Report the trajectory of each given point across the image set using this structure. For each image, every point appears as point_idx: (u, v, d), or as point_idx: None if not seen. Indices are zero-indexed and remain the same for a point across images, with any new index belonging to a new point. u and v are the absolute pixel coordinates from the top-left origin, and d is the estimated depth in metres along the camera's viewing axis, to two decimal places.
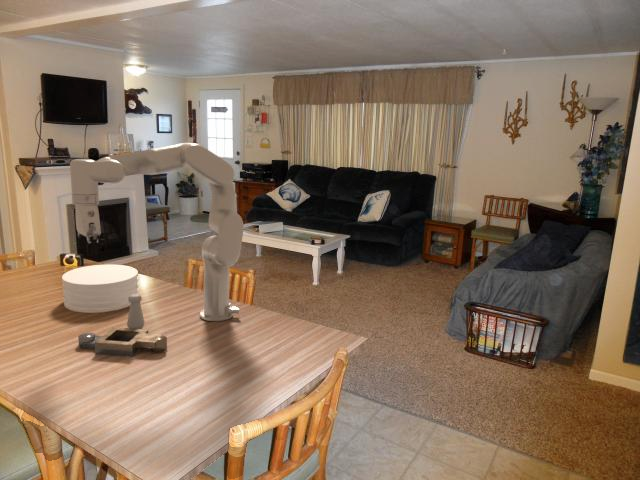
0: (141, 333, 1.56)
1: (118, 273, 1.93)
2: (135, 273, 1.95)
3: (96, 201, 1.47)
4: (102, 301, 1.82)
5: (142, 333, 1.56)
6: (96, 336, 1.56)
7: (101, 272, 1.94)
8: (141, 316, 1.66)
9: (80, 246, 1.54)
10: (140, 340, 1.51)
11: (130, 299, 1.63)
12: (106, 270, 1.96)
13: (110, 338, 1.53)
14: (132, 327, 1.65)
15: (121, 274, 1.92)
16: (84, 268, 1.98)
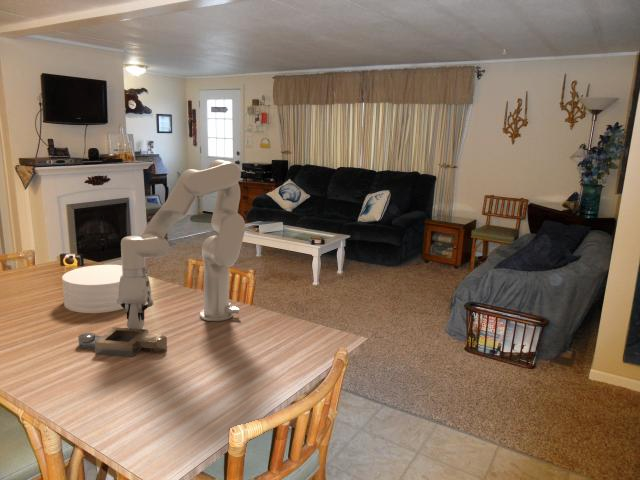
0: (141, 333, 1.56)
1: (118, 274, 1.93)
2: None
3: None
4: (102, 301, 1.82)
5: (142, 333, 1.56)
6: (96, 336, 1.56)
7: (101, 272, 1.93)
8: None
9: None
10: (140, 340, 1.51)
11: None
12: (106, 270, 1.96)
13: (110, 338, 1.53)
14: (132, 327, 1.65)
15: (121, 274, 1.92)
16: (84, 268, 1.98)
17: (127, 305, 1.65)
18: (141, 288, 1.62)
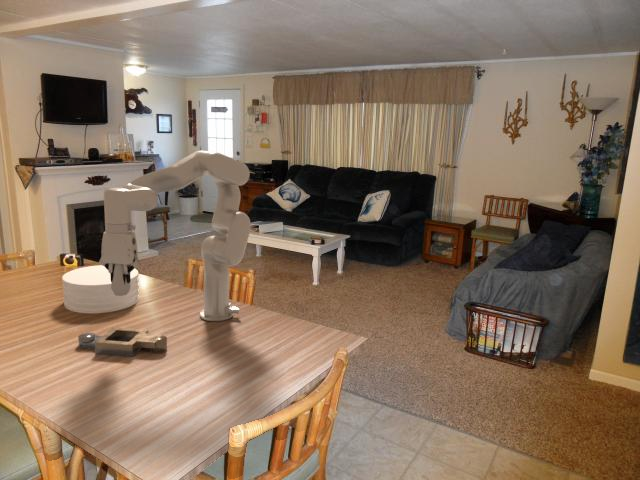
0: (141, 333, 1.56)
1: None
2: (135, 274, 1.94)
3: None
4: (102, 302, 1.81)
5: (142, 333, 1.56)
6: (96, 336, 1.56)
7: (101, 272, 1.93)
8: None
9: None
10: (140, 340, 1.51)
11: None
12: (106, 271, 1.96)
13: (110, 338, 1.53)
14: (116, 290, 1.48)
15: None
16: (84, 268, 1.97)
17: (111, 265, 1.48)
18: (126, 246, 1.45)
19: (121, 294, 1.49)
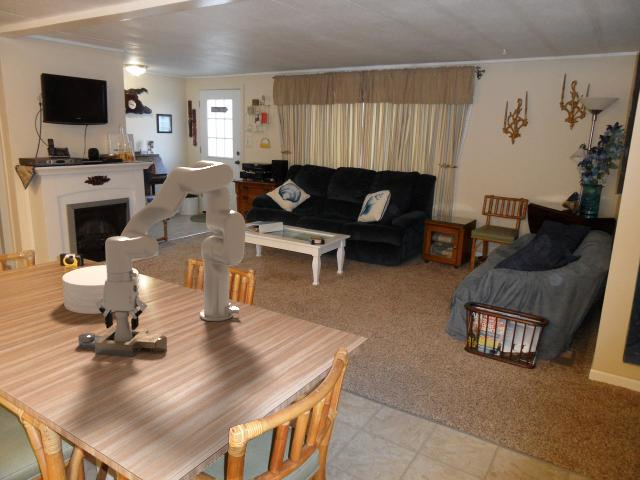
0: (141, 333, 1.56)
1: None
2: None
3: None
4: None
5: (142, 333, 1.56)
6: (96, 336, 1.56)
7: (102, 273, 1.93)
8: (129, 333, 1.52)
9: (108, 325, 1.51)
10: (140, 340, 1.51)
11: (117, 314, 1.50)
12: None
13: (110, 338, 1.53)
14: None
15: None
16: (85, 269, 1.97)
17: (108, 310, 1.50)
18: (128, 293, 1.47)
19: None
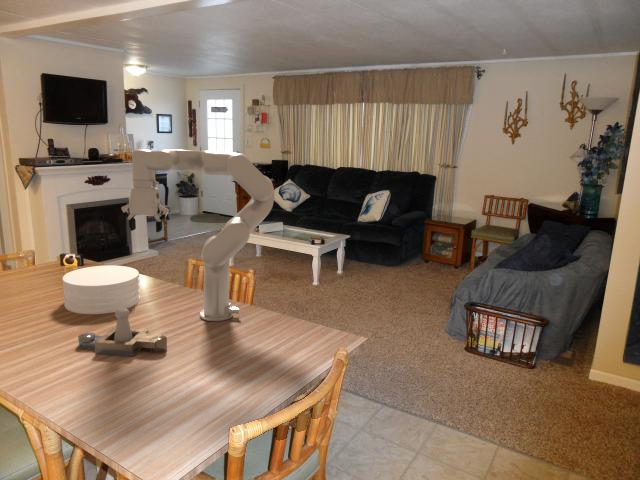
0: (141, 333, 1.56)
1: (119, 275, 1.92)
2: (136, 274, 1.93)
3: None
4: (102, 302, 1.80)
5: (142, 333, 1.56)
6: (96, 336, 1.56)
7: (102, 273, 1.92)
8: (129, 333, 1.52)
9: (132, 227, 1.72)
10: (140, 340, 1.51)
11: (117, 314, 1.50)
12: (107, 271, 1.95)
13: (110, 338, 1.53)
14: None
15: (122, 275, 1.91)
16: (85, 269, 1.97)
17: (132, 215, 1.71)
18: (151, 199, 1.68)
19: None
